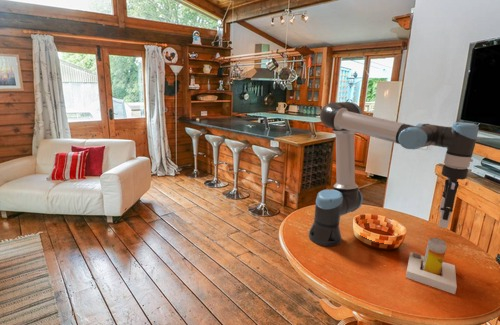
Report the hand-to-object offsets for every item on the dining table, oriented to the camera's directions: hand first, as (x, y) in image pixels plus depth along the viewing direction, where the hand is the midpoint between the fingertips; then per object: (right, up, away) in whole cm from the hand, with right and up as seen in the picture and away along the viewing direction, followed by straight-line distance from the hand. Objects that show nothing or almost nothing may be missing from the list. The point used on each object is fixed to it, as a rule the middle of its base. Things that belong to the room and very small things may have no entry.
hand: (442, 220), depth 108 cm
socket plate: (-1, -23, +6) cm, 24 cm away
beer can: (-1, -23, +6) cm, 24 cm away
